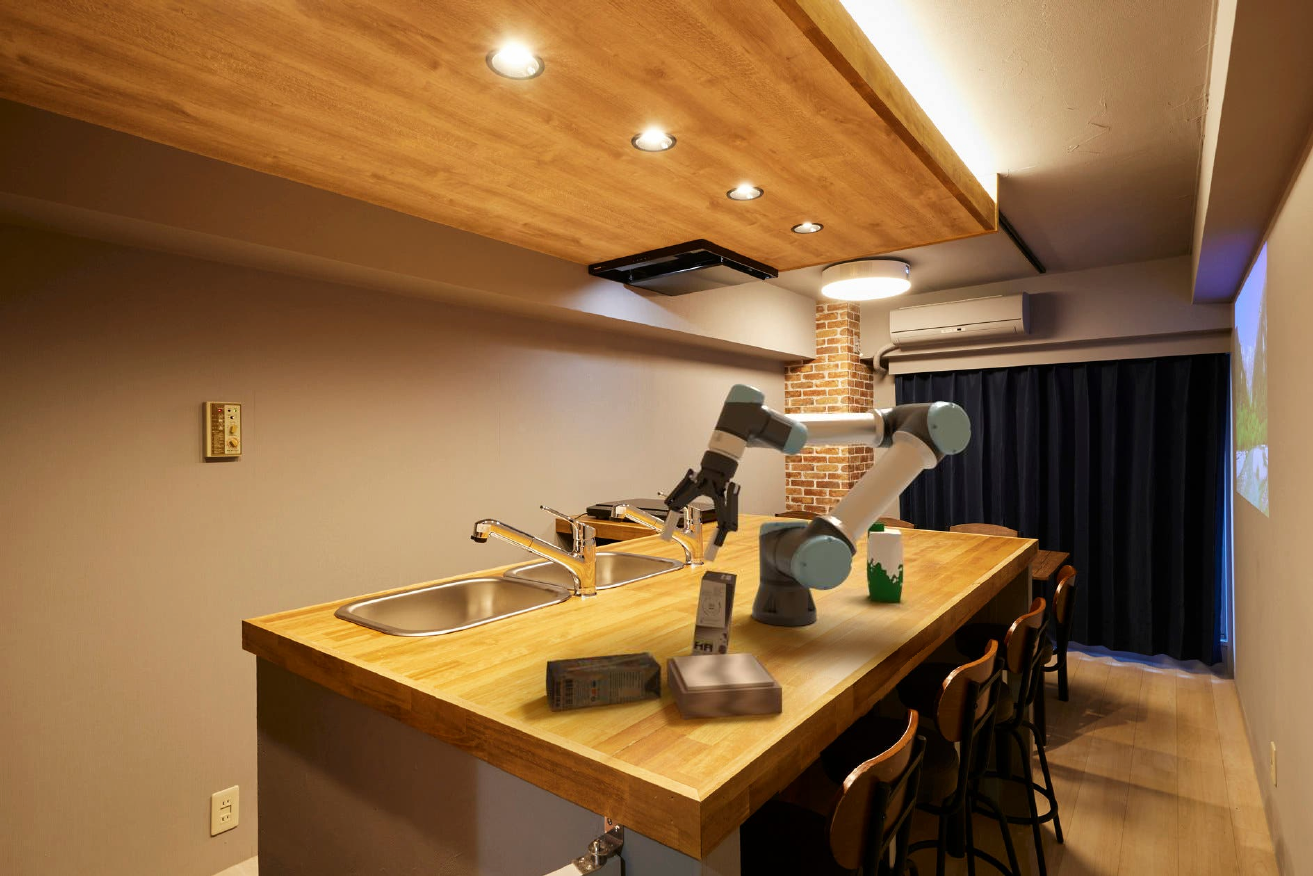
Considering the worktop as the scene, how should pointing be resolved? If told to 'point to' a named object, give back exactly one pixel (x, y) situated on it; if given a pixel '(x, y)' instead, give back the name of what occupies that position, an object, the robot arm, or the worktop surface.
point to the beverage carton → (602, 680)
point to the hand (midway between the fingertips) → (685, 550)
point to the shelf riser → (722, 686)
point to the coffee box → (714, 614)
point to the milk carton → (884, 563)
